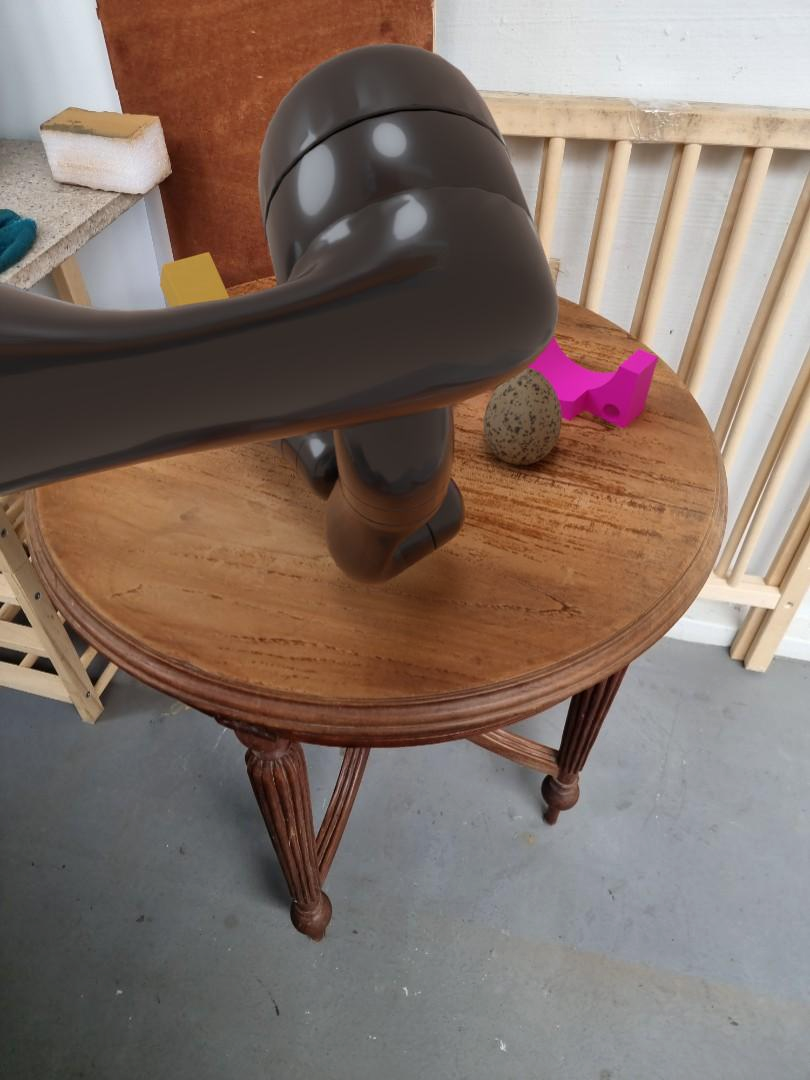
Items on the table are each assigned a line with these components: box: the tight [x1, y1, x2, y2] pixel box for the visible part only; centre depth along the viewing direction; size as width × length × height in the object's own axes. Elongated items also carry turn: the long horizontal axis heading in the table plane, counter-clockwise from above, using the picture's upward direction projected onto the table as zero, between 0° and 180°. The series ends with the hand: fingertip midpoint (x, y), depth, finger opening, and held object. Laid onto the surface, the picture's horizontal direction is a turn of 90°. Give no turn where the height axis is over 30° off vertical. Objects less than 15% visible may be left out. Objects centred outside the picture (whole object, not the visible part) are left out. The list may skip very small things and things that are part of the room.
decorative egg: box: [483, 368, 563, 466], centre depth 71 cm, size 7×7×10 cm
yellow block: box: [159, 251, 230, 307], centre depth 81 cm, size 5×5×11 cm
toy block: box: [528, 335, 659, 429], centre depth 78 cm, size 15×6×8 cm, turn 49°
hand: (216, 316), depth 77 cm, fingers closed
